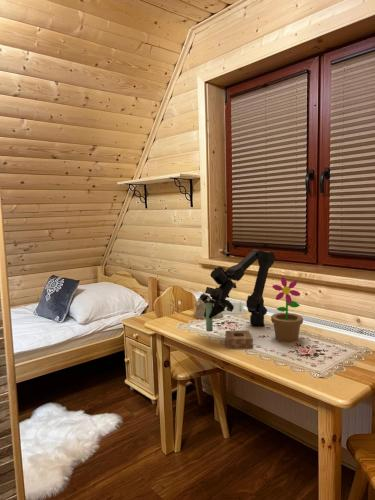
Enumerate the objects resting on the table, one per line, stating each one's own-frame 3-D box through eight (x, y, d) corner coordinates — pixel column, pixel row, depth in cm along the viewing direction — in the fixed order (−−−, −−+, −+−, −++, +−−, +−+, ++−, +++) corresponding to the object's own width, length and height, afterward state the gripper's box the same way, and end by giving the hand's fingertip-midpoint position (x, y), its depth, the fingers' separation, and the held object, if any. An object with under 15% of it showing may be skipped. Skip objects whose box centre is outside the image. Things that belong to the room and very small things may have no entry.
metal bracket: (221, 299, 226) (246, 299, 224) (222, 307, 228) (246, 307, 226) (221, 312, 213) (247, 312, 211) (221, 320, 215) (247, 321, 213)
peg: (212, 329, 174) (212, 302, 173) (212, 331, 171) (212, 304, 170) (206, 329, 174) (205, 302, 173) (206, 331, 171) (205, 304, 170)
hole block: (249, 338, 173) (249, 330, 173) (252, 347, 162) (252, 338, 162) (225, 339, 174) (225, 330, 173) (227, 347, 163) (227, 339, 162)
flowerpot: (269, 342, 168) (269, 277, 165) (273, 332, 182) (273, 272, 178) (301, 345, 163) (302, 279, 160) (303, 334, 177) (304, 273, 173)
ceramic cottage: (224, 318, 205) (222, 291, 204) (194, 320, 205) (193, 293, 204) (221, 312, 221) (220, 287, 220) (194, 314, 221) (192, 289, 220)
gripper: (201, 277, 180) (184, 303, 174) (228, 283, 165) (210, 312, 160) (214, 290, 185) (197, 316, 180) (241, 297, 171) (224, 325, 165)
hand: (206, 317), depth 171 cm, fingers closed on peg, 3 cm apart
